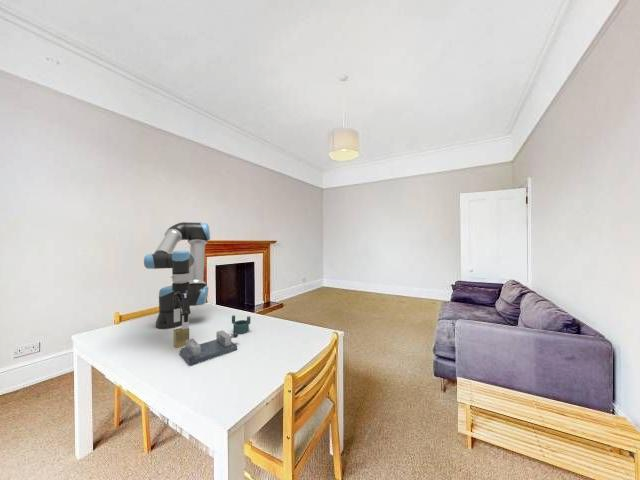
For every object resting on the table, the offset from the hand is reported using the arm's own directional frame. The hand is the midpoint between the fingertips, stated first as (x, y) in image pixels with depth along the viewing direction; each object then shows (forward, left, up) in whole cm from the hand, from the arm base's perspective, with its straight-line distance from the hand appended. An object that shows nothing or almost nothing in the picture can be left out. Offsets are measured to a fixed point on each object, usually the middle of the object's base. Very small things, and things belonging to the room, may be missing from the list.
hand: (181, 324), depth 122 cm
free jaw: (+17, +17, -8) cm, 25 cm away
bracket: (+4, +30, -11) cm, 32 cm away
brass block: (0, 0, -10) cm, 10 cm away
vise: (+17, +7, -10) cm, 21 cm away
